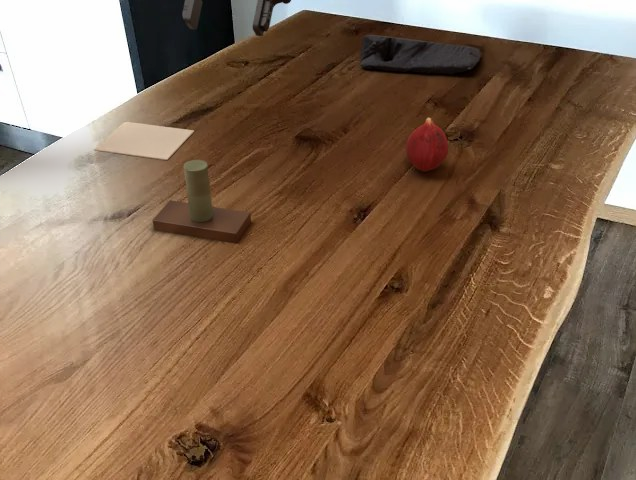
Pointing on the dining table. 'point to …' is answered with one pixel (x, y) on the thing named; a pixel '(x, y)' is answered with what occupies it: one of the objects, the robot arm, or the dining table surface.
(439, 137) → the onion
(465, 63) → the dark slate chunk
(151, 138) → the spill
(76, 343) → the dining table surface
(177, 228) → the stamp with green handle
